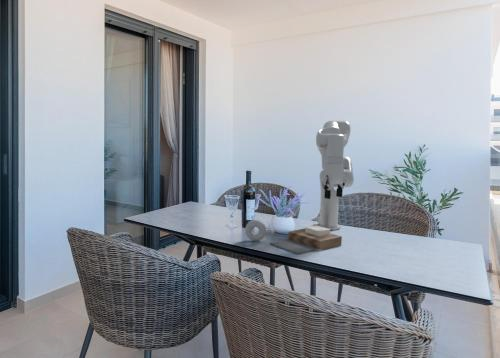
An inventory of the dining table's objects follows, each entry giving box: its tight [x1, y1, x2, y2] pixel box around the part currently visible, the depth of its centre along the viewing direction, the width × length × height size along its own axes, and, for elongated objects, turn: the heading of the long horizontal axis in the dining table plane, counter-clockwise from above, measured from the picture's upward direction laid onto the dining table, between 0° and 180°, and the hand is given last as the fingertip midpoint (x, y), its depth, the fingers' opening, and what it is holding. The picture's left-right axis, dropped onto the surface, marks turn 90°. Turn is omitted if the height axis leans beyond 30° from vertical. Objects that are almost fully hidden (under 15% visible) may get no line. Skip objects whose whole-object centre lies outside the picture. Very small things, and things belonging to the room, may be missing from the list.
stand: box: [287, 228, 343, 251], centre depth 173 cm, size 20×14×4 cm
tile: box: [305, 224, 331, 236], centre depth 174 cm, size 9×7×2 cm
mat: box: [269, 239, 318, 255], centre depth 165 cm, size 18×11×1 cm, turn 37°
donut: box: [244, 219, 267, 242], centre depth 174 cm, size 10×4×10 cm, turn 80°
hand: (333, 197), depth 179 cm, fingers open, 7 cm apart
